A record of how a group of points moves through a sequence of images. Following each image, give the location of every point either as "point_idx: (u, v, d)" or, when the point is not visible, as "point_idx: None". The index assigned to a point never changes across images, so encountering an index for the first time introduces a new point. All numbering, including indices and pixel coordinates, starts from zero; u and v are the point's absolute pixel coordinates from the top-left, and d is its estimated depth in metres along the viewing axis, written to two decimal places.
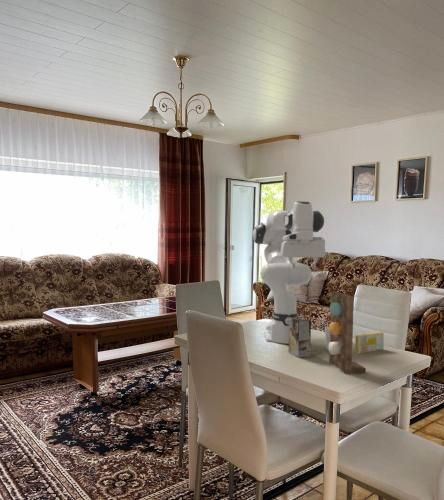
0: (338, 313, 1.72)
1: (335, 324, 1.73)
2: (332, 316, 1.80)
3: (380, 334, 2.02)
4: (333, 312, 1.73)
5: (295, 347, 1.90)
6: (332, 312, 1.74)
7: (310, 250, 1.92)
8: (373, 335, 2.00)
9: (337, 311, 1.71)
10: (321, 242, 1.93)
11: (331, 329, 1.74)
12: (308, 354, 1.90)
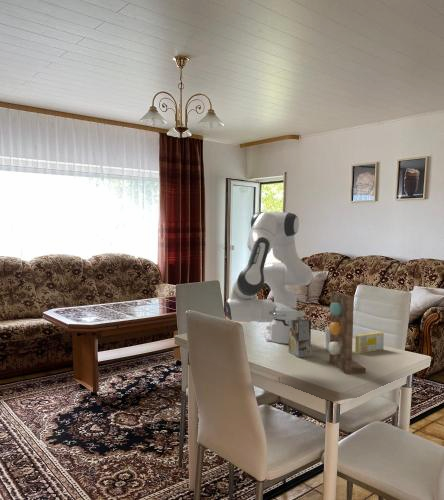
0: (338, 313, 1.72)
1: (335, 324, 1.73)
2: (332, 316, 1.80)
3: (380, 334, 2.02)
4: (333, 312, 1.73)
5: (295, 347, 1.90)
6: (332, 312, 1.74)
7: None
8: (373, 335, 2.00)
9: (337, 311, 1.71)
10: (279, 319, 1.61)
11: (331, 329, 1.74)
12: (308, 354, 1.90)
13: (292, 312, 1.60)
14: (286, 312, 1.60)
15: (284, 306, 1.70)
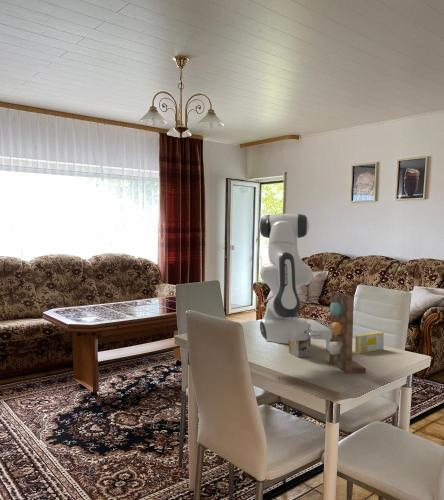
0: (338, 313, 1.72)
1: (337, 324, 1.73)
2: (332, 316, 1.80)
3: (380, 334, 2.02)
4: (333, 312, 1.73)
5: (295, 347, 1.90)
6: (332, 312, 1.74)
7: None
8: (373, 335, 2.00)
9: (337, 311, 1.71)
10: (314, 338, 1.64)
11: None
12: (308, 354, 1.90)
13: (327, 332, 1.63)
14: (321, 332, 1.63)
15: (317, 324, 1.73)
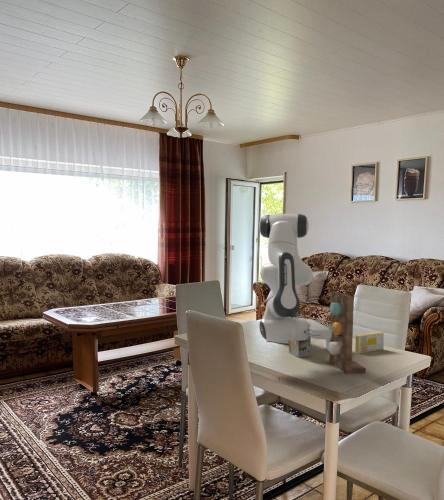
0: (338, 313, 1.72)
1: (338, 324, 1.73)
2: (332, 316, 1.80)
3: (380, 334, 2.02)
4: (333, 312, 1.73)
5: (295, 347, 1.90)
6: (332, 312, 1.74)
7: None
8: (373, 335, 2.00)
9: (337, 311, 1.71)
10: None
11: (334, 329, 1.74)
12: (308, 354, 1.90)
13: (326, 331, 1.63)
14: (321, 331, 1.63)
15: (317, 324, 1.73)
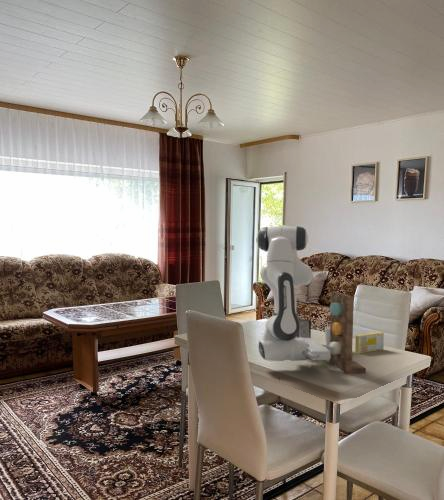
0: (338, 313, 1.72)
1: (338, 324, 1.73)
2: (332, 316, 1.80)
3: (380, 334, 2.02)
4: (333, 312, 1.73)
5: None
6: (332, 312, 1.74)
7: None
8: (373, 335, 2.00)
9: (337, 311, 1.71)
10: None
11: (334, 329, 1.74)
12: None
13: (325, 352, 1.63)
14: (319, 353, 1.63)
15: (316, 343, 1.74)
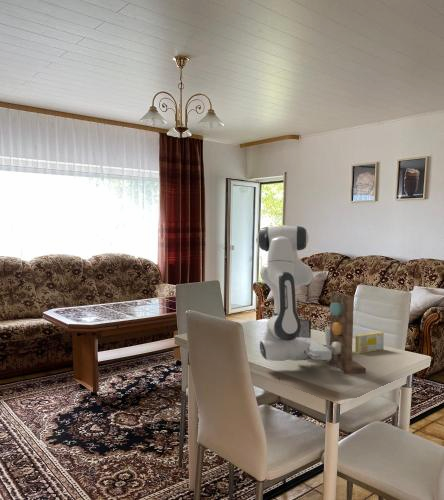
0: (338, 313, 1.72)
1: (338, 324, 1.73)
2: (332, 316, 1.80)
3: (380, 334, 2.02)
4: (333, 312, 1.73)
5: None
6: (332, 312, 1.74)
7: None
8: (373, 335, 2.00)
9: (337, 311, 1.71)
10: None
11: (334, 329, 1.74)
12: None
13: (326, 352, 1.63)
14: (321, 352, 1.63)
15: (317, 343, 1.74)
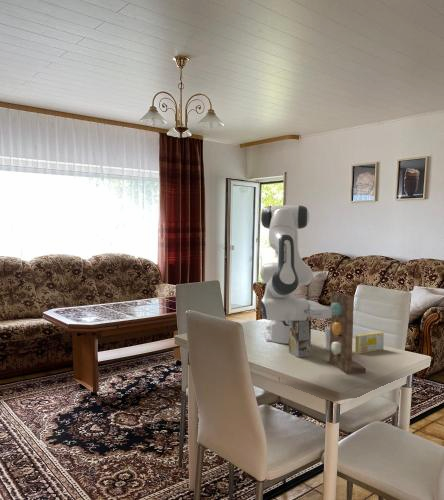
0: (339, 313, 1.72)
1: (338, 324, 1.73)
2: (332, 316, 1.80)
3: (380, 334, 2.02)
4: (334, 312, 1.73)
5: (295, 347, 1.90)
6: (333, 312, 1.74)
7: None
8: (373, 335, 2.00)
9: (338, 311, 1.71)
10: (314, 317, 1.64)
11: (334, 329, 1.74)
12: (308, 354, 1.90)
13: (327, 311, 1.63)
14: (321, 311, 1.62)
15: (317, 304, 1.73)
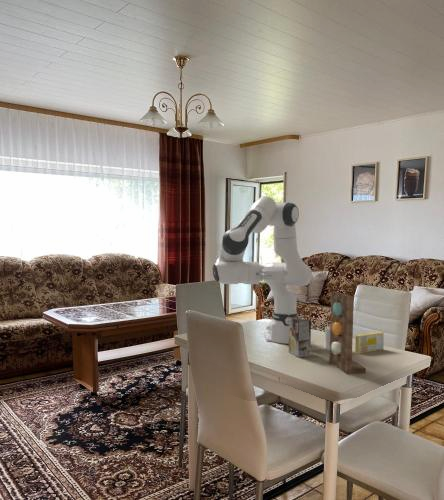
0: (341, 313, 1.72)
1: (338, 324, 1.73)
2: (332, 316, 1.80)
3: (380, 334, 2.02)
4: (336, 312, 1.73)
5: (295, 347, 1.90)
6: (335, 312, 1.74)
7: None
8: (373, 335, 2.00)
9: (340, 311, 1.72)
10: (265, 279, 1.64)
11: (334, 329, 1.74)
12: (308, 354, 1.90)
13: (278, 272, 1.63)
14: (272, 272, 1.62)
15: (271, 268, 1.73)
